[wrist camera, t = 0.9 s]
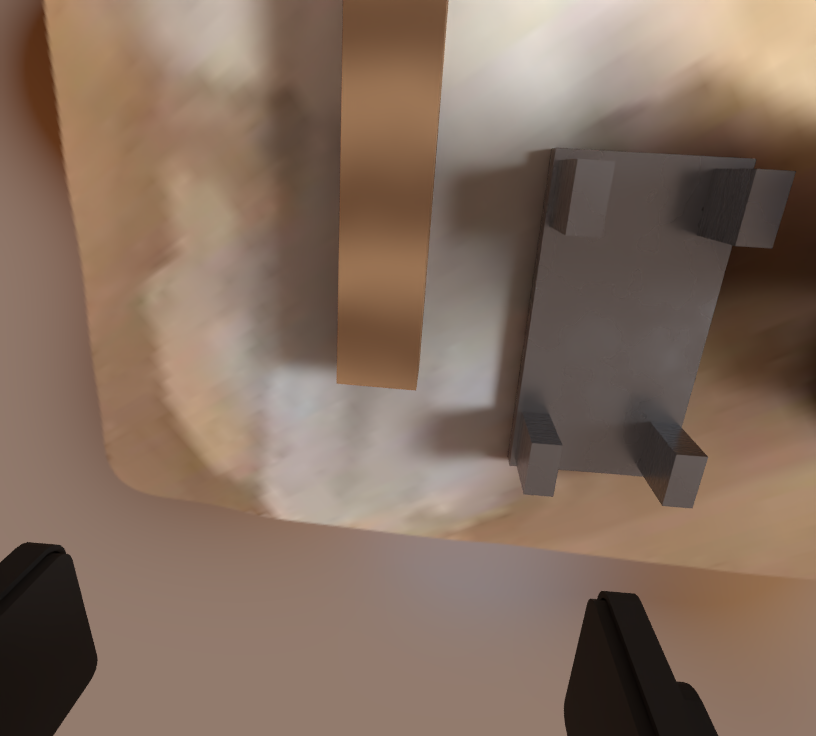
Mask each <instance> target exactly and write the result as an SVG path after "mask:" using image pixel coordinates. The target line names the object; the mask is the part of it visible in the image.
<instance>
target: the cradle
mask: <svg viewBox="0 0 816 736" xmlns="http://www.w3.org/2000/svg"><path fill="white" fill-rule="evenodd" d="M755 162H756V159H749V158H731V157H713V156H695V155H677V154H659V153H641V152H622V151H604V150H586V149H568V148H552V151H551V158H550V164H549V171H548V178H547V185H546V192H545V199H544V206H543V213H542V220H541V227H540V234H539V241H538V248H537V255H536V262H535V269H534V276H533V283H532V290H531V297H530V304H529V311H528V318H527V325H526V332H525V339H524V346H523V353H522V360H521V367H520V374H519V381H518V388H517V395H516V402H515V409H514V416H513V423H512V430H511V437H510V444H509V451H508V460H509V465H510V466H517V469H518V473H519V477H520V481H521V485H522V489H523V494H527V495H539V496H551V497H553V495H554V489H555V484H556V478H557V473H558V470H571V471H583V472H595V473H607V474H620V475H632V476H643V477H644V478H645V480H646V481H647V483H648V484H649V486H650V488H651V489H652V491H653V492H654V494H655V495H656V497H657V498H658V500H659V502H660V503H661V505H662V506H670V507H682V508H693V504H694V501H695V498H696V495H697V491H698V488H699V485H700V482H701V478H702V475H703V472H704V469H705V465H706V462H707V459H708V456H707V455H706V454H705V453H704V452H703V451H702V450H701V449H700V448H699V447H698V445H697V444H696V443H695V442H694V441H693V440H692V439H691V438H690V437H689V435H688V434H687V433H686V432H685V431H684V430H683V429H682V424H683V420H684V417H685V413H686V410H687V406H688V403H689V399H690V395H691V392H692V388H693V385H694V381H695V377H696V374H697V370H698V367H699V363H700V360H701V356H702V352H703V349H704V345H705V342H706V338H707V334H708V331H709V327H710V324H711V320H712V317H713V313H714V309H715V306H716V302H717V299H718V295H719V291H720V288H721V284H722V281H723V277H724V273H725V270H726V266H727V263H728V259H729V256H730V252H731V248H732V245H733V246H742V247H758V248H773V244H774V241H775V238H776V235H777V231H778V228H779V225H780V222H781V218H782V215H783V212H784V209H785V205H786V202H787V199H788V196H789V192H790V189H791V186H792V182H793V179H794V176H795V173H796V171H786V170H768V169H754V166H755Z"/></svg>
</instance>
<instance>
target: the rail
mask: <svg viewBox="0 0 816 736" xmlns="http://www.w3.org/2000/svg"><path fill="white" fill-rule="evenodd" d="M447 13H448V0H343V34H342V94H341V153H340V213H339V272H338V332H337V383H338V384H349V385H360V386H372V387H383V388H394V389H406V390H416V387H417V379H418V371H419V363H420V350H421V338H422V325H423V313H424V300H425V288H426V275H427V263H428V250H429V238H430V225H431V213H432V200H433V188H434V175H435V163H436V150H437V138H438V125H439V113H440V100H441V88H442V75H443V63H444V50H445V38H446V25H447Z"/></svg>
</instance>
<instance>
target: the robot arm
mask: <svg viewBox="0 0 816 736" xmlns="http://www.w3.org/2000/svg"><path fill="white" fill-rule="evenodd" d="M96 666H97V654H96V650H95V646H94V642H93V638H92V634H91V630H90V626H89V623H88V618H87V615H86V611H85V607H84V603H83V599H82V595H81V591H80V587H79V584H78V580H77V576H76V572H75V568H74V564H73V560H72V558H71V556H70V555H69V554H66V552H65V550H64V548H63V547H61V545H54V544H43V543H31V542H27V543H24V544H21V545H20V546H19V547H17V548H16V549H15V550H14V551H12V552H11V553H10V554H9V555H8V556H7V557H6V558H5V559H4V560H3V561H1V562H0V736H53V735H54V734H55V732H56V731H57V729H58V728H59V726H60V725H61V723H62V721H63V720H64V719H65V717H66V716H67V714H68V713H69V711H70V710H71V708H72V707H73V706H74V704H75V703H76V701H77V699H78V698H79V697H80V695H81V694H82V692H83V691H84V689H85V688H86V686H87V685H88V684H89V682H90V680H91V679H92V677H93V675H94V672H95V670H96ZM564 718H565V726H566V731H567V736H718V734H717V732H716V730H715V728H714V726H713V724H712V722H711V719H710V717H709V715H708V713H707V711H706V709H705V707H704V705H703V702H702V701H701V699H700V697H699V695H698V694H697V692H696V691H695V689H694V688H693V687H692V686H691V685H690V684H687V683H684V682H676V680H675V678H674V675H673V673H672V671H671V669H670V666H669V664H668V662H667V660H666V657H665V655H664V653H663V651H662V648H661V646H660V644H659V641H658V639H657V637H656V635H655V632H654V630H653V628H652V626H651V623H650V621H649V619H648V616H647V614H646V612H645V610H644V607H643V605H642V603H641V601H640V599H639V597H638V596H637V595H636V594H631V593H620V592H608V591H601V592H600V593H599V595H598V598H597V599H589V601H588V603H587V607H586V611H585V616H584V620H583V624H582V628H581V633H580V637H579V641H578V646H577V650H576V654H575V659H574V663H573V667H572V671H571V676H570V680H569V685H568V689H567V693H566V697H565V703H564Z"/></svg>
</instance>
